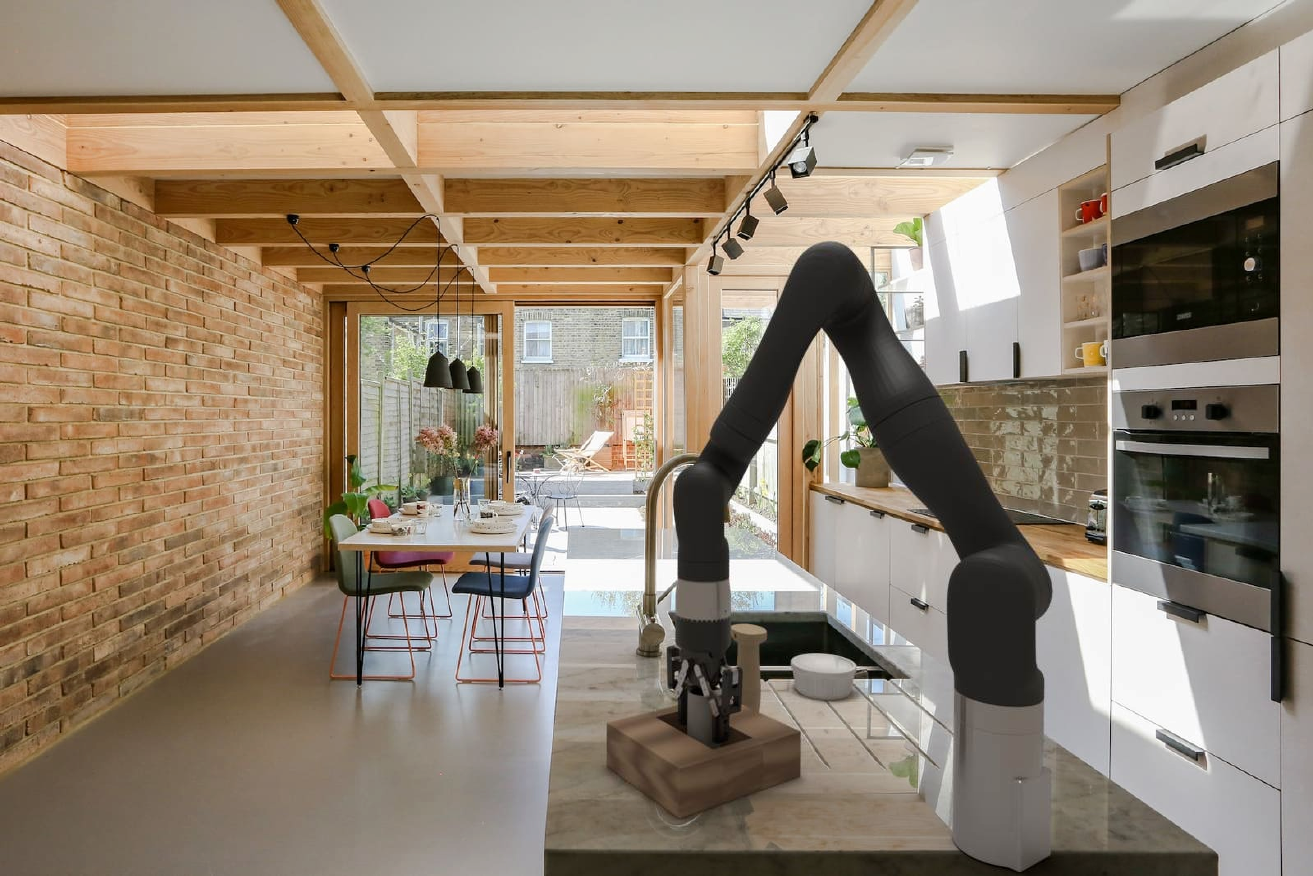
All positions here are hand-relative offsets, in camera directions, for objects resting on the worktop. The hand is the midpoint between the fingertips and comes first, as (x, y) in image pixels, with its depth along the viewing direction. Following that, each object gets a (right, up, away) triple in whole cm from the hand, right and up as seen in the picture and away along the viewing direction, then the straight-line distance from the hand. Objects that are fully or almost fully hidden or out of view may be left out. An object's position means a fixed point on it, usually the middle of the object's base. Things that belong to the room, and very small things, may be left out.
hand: (702, 732), depth 105 cm
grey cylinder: (0, -5, 0) cm, 5 cm away
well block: (0, -5, 0) cm, 5 cm away
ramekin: (+23, -5, +32) cm, 40 cm away
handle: (+8, -5, +17) cm, 19 cm away
